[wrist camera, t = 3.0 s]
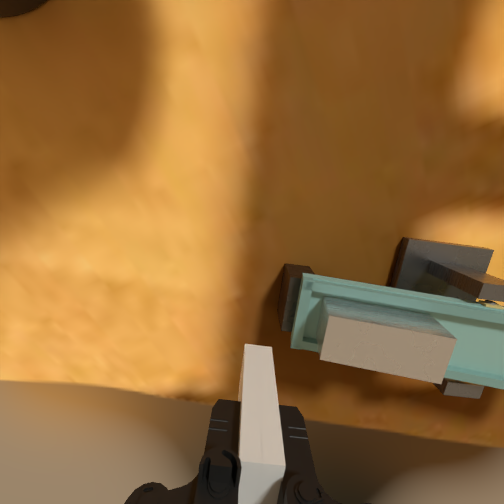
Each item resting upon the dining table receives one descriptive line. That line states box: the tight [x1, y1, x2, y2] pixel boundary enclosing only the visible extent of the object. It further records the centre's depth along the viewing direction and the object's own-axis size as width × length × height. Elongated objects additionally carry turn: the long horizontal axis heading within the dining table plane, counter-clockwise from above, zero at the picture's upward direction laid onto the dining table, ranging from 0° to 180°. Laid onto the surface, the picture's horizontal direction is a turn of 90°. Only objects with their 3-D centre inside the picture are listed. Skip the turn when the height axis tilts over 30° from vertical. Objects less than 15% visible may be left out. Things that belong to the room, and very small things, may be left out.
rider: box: [316, 296, 457, 384], centre depth 20 cm, size 3×8×4 cm, turn 83°
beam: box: [291, 273, 504, 389], centre depth 20 cm, size 7×28×2 cm, turn 83°
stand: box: [277, 237, 504, 399], centre depth 24 cm, size 13×29×7 cm, turn 83°
